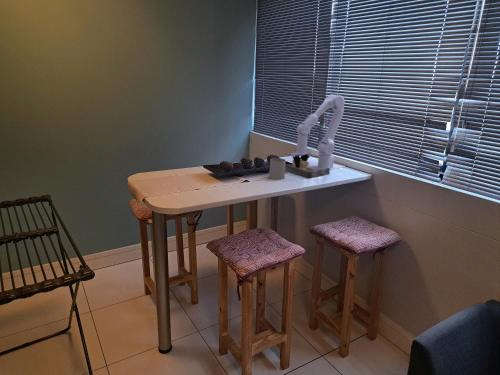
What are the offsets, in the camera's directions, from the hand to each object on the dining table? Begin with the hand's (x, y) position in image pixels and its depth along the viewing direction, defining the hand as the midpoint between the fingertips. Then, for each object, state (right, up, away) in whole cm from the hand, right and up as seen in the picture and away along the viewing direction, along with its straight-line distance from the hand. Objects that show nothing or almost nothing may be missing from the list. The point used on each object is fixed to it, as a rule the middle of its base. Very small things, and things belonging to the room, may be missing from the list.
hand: (300, 167), depth 206 cm
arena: (+2, -3, -5) cm, 6 cm away
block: (0, -1, 0) cm, 1 cm away
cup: (-15, -7, -16) cm, 24 cm away
